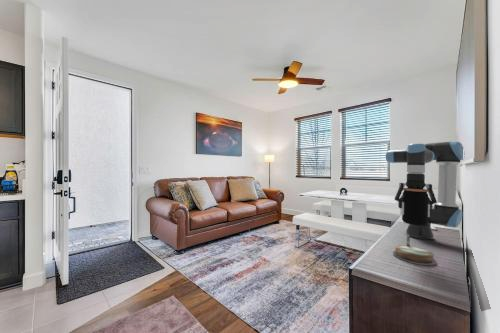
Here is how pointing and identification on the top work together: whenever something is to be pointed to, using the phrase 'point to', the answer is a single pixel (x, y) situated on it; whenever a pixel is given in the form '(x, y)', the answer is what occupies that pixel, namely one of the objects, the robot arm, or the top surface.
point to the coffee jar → (415, 206)
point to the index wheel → (414, 253)
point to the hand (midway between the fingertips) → (414, 215)
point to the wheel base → (415, 262)
